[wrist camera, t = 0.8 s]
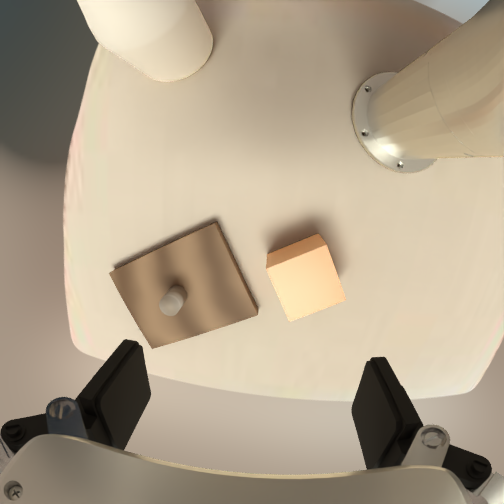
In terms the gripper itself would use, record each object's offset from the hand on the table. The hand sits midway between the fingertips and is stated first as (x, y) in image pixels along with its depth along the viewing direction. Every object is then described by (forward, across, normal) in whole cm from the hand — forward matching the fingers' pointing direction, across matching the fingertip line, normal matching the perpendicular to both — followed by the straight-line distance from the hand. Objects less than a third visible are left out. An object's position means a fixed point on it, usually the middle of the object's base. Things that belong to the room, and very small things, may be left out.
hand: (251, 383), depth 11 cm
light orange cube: (+24, -5, +2) cm, 24 cm away
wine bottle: (+24, +12, -24) cm, 36 cm away
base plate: (+24, +10, +6) cm, 27 cm away
